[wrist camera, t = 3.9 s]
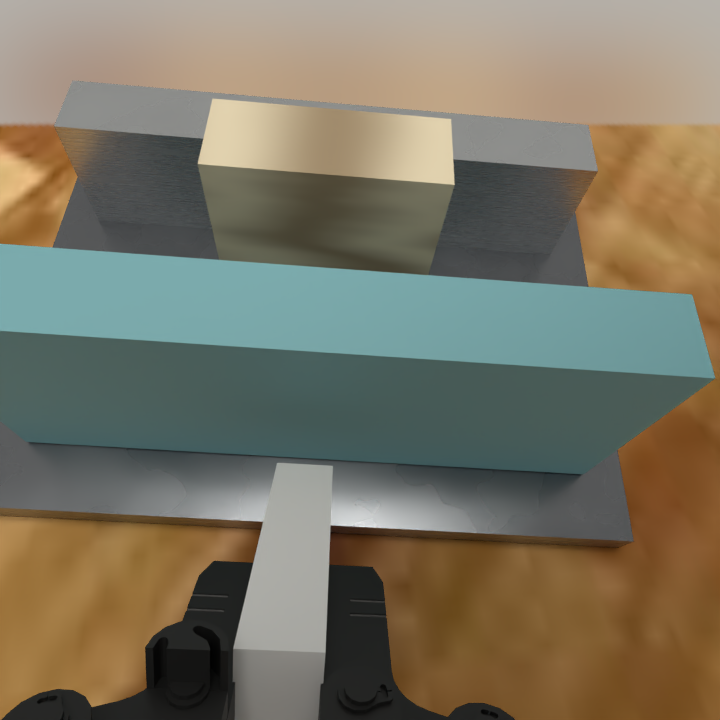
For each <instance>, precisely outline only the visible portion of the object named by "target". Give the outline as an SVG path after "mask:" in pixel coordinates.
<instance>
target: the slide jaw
mask: <svg viewBox="0 0 720 720" xmlns="http://www.w3.org/2000/svg"><path fill="white" fill-rule="evenodd" d="M714 379H715V376H714V372H713V368H712V365H711V361H710V358H709V354H708V350H707V347H706V343H705V340H704V336H703V332H702V329H701V325H700V321H699V318H698V314H697V311H696V307H695V303H694V300H693V296H692V295H691V294H678V293H664V292H650V291H637V290H623V289H609V288H596V287H582V286H568V285H555V284H541V283H527V282H514V281H500V280H487V279H473V278H459V277H446V276H432V275H418V274H405V273H391V272H377V271H364V270H350V269H336V268H323V267H309V266H295V265H282V264H268V263H254V262H241V261H227V260H213V259H200V258H186V257H172V256H159V255H145V254H132V253H118V252H104V251H91V250H77V249H63V248H50V247H36V246H22V245H9V244H0V421H1V422H2V423H3V424H4V425H6V426H7V427H8V428H9V429H11V430H12V431H13V432H14V433H16V434H17V435H18V436H19V437H21V438H22V439H23V440H24V441H26V442H36V443H53V444H70V445H87V446H104V447H122V448H139V449H156V450H173V451H190V452H207V453H225V454H242V455H259V456H276V457H293V458H311V459H328V460H345V461H362V462H379V463H397V464H414V465H431V466H448V467H465V468H482V469H500V470H517V471H534V472H551V473H568V474H585V473H586V472H588V471H589V470H590V469H592V468H593V467H594V466H596V465H597V464H599V463H600V462H601V461H603V460H604V459H605V458H607V457H608V456H610V455H611V454H612V453H614V452H615V451H616V450H618V449H619V448H620V447H622V446H623V445H625V444H626V443H627V442H629V441H630V440H631V439H633V438H634V437H636V436H637V435H638V434H640V433H641V432H642V431H644V430H645V429H647V428H648V427H649V426H651V425H652V424H653V423H655V422H656V421H658V420H659V419H660V418H662V417H663V416H664V415H666V414H667V413H668V412H670V411H671V410H673V409H674V408H675V407H677V406H678V405H679V404H681V403H682V402H684V401H685V400H686V399H688V398H689V397H690V396H692V395H693V394H695V393H696V392H697V391H699V390H700V389H701V388H703V387H704V386H706V385H707V384H708V383H710V382H711V381H712V380H714Z"/></svg>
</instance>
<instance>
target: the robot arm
mask: <svg viewBox="0 0 720 720" xmlns="http://www.w3.org/2000/svg"><path fill="white" fill-rule="evenodd" d="M332 475H333V466H328V465H310V464H292V463H277V466H276V470H275V474H274V478H273V483H272V487H271V491H270V495H269V500H268V504H267V508H266V512H265V516H264V521H263V525H262V529H261V533H260V538H259V542H258V546H257V550H256V554H255V559H254V563H246V562H225V561H214V562H212V563H211V564H210V565H209V566H208V567H207V568H206V569H205V570H204V571H203V572H202V573H201V574H200V575H199V577H198V580H197V583H196V585H195V588H194V591H193V595H192V596H191V599H190V602H189V604H188V607H187V611H186V613H185V615H184V618H183V621H181V622H178V623H175V624H173V625H170V626H167V627H165V628H164V629H162V630H161V631H160V632H158V633H157V634H156V635H154V636H153V637H152V639H151V640H150V642H149V643H148V644H147V646H146V647H145V653H146V680H147V688H146V689H145V690H144V691H142V692H140V693H138V694H136V695H134V696H132V697H129V698H126V699H123V700H120V701H117V702H113V703H108V704H104V705H100V706H96V707H91V705H90V704H89V702H88V700H87V699H86V697H85V696H83V695H81V694H79V693H78V692H76V691H74V690H62V689H56V690H51V691H47V692H42V693H39V694H37V695H35V696H33V697H31V698H29V699H27V700H25V701H23V702H21V703H20V704H19V705H17V706H16V707H15V708H14V709H13V710H11V711H10V712H9V713H8V714H7V715H6V716H5V717H4V718H3V719H2V720H515V719H514V718H513V717H511V716H510V715H509V714H507V713H506V712H504V711H503V710H501V709H500V708H497V707H494V706H491V705H488V704H485V703H468V704H465V705H463V706H460V707H458V708H456V709H455V710H454V711H453V712H452V713H451V714H450V715H449V717H446V716H443V715H440V714H437V713H434V712H431V711H428V710H426V709H423V708H421V707H419V706H417V705H415V704H414V703H413V702H411V701H410V700H408V699H407V698H406V697H405V696H404V695H403V694H402V693H401V692H400V690H399V689H398V687H397V685H396V684H395V682H394V679H393V675H392V670H391V660H390V649H389V639H388V629H387V618H386V608H385V597H384V587H383V582H382V580H381V579H380V577H379V576H378V574H377V573H376V572H375V570H374V569H373V567H362V566H341V565H329V551H330V526H331V501H332Z"/></svg>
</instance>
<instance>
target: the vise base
mask: <svg viewBox="0 0 720 720" xmlns="http://www.w3.org/2000/svg"><path fill="white" fill-rule="evenodd" d="M212 99H224V100H235V101H247V102H259V103H270V104H282V105H294V106H305V107H317V108H329V109H340V110H352V111H364V112H375V113H387V114H399V115H410V116H422V117H434V118H445V119H451V126H452V145H453V164H454V183H455V185H454V189H453V192H452V195H451V199H450V202H449V206H448V209H447V212H446V216H445V219H444V223H443V226H442V230H441V233H440V236H439V240H438V243H437V247H436V250H435V254H434V257H433V260H432V264H431V267H430V271H429V274H428V275H432V276H446V277H459V278H473V279H487V280H500V281H514V282H527V283H541V284H555V285H568V286H582V287H588V282H587V277H586V271H585V265H584V260H583V254H582V249H581V243H580V237H579V232H578V226H577V220H576V215H575V211H576V209H577V207H578V205H579V204H580V202H581V200H582V198H583V197H584V195H585V193H586V191H587V190H588V188H589V186H590V184H591V183H592V181H593V179H594V177H595V176H596V174H597V172H598V169H597V164H596V160H595V155H594V150H593V145H592V141H591V136H590V131H589V126H588V125H582V124H570V123H558V122H547V121H535V120H523V119H512V118H500V117H489V116H477V115H465V114H454V113H443V112H431V111H419V110H407V109H395V108H384V107H372V106H361V105H350V104H338V103H326V102H314V101H303V100H291V99H280V98H267V97H257V96H245V95H234V94H222V93H211V92H198V91H187V90H175V89H164V88H152V87H140V86H128V85H118V84H106V83H94V82H83V81H72V83H71V86H70V88H69V91H68V93H67V95H66V98H65V101H64V103H63V105H62V108H61V110H60V113H59V115H58V118H57V120H56V123H55V125H54V127H55V130H56V132H57V134H58V136H59V138H60V140H61V142H62V144H63V146H64V149H65V151H66V153H67V155H68V157H69V159H70V161H71V163H72V166H73V168H74V170H75V172H76V174H77V176H78V178H77V181H76V183H75V186H74V189H73V192H72V195H71V197H70V200H69V203H68V206H67V209H66V211H65V214H64V217H63V220H62V223H61V225H60V228H59V231H58V234H57V237H56V239H55V242H54V245H53V248H63V249H77V250H91V251H104V252H118V253H132V254H145V255H159V256H172V257H186V258H200V259H213V260H219V257H218V252H217V248H216V244H215V239H214V235H213V230H212V226H211V221H210V217H209V213H208V208H207V204H206V199H205V195H204V190H203V186H202V181H201V177H200V173H199V168H198V160H199V156H200V151H201V147H202V143H203V138H204V134H205V130H206V125H207V121H208V116H209V112H210V108H211V103H212ZM277 463H292V464H310V465H328V466H333V475H332V501H331V526H330V533H346V534H365V535H384V536H403V537H423V538H442V539H461V540H480V541H499V542H518V543H537V544H556V545H575V546H594V547H613V548H619V547H621V546H623V545H626V544H628V543H631V542H633V535H632V530H631V524H630V518H629V513H628V507H627V501H626V496H625V490H624V485H623V479H622V473H621V468H620V462H619V456H618V451H617V450H616V451H615V452H614V453H612V454H611V455H610V456H608V457H607V458H605V459H604V460H603V461H601V462H600V463H599V464H597V465H596V466H594V467H593V468H592V469H590V470H589V471H588V472H586V473H585V474H568V473H551V472H534V471H517V470H500V469H482V468H465V467H448V466H431V465H414V464H397V463H379V462H362V461H345V460H328V459H311V458H293V457H276V456H259V455H242V454H225V453H207V452H190V451H173V450H156V449H139V448H122V447H104V446H87V445H70V444H53V443H36V442H26V441H24V440H23V439H22V438H21V437H19V436H18V435H17V434H16V433H14V432H13V431H12V430H11V429H9V428H8V427H7V426H6V425H4V424H3V423H2V422H1V421H0V515H3V516H22V517H41V518H60V519H79V520H98V521H117V522H136V523H156V524H175V525H194V526H213V527H232V528H251V529H262V525H263V521H264V516H265V512H266V508H267V504H268V500H269V495H270V491H271V487H272V483H273V478H274V474H275V470H276V466H277Z"/></svg>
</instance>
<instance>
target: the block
mask: <svg viewBox="0 0 720 720" xmlns="http://www.w3.org/2000/svg"><path fill="white" fill-rule="evenodd" d="M198 168H199V173H200V177H201V181H202V186H203V190H204V195H205V199H206V204H207V208H208V213H209V217H210V221H211V226H212V230H213V235H214V239H215V244H216V248H217V252H218V257H219V260H227V261H241V262H254V263H268V264H282V265H295V266H309V267H323V268H336V269H350V270H364V271H377V272H391V273H405V274H418V275H428V274H429V271H430V267H431V264H432V260H433V257H434V254H435V250H436V247H437V243H438V240H439V236H440V233H441V230H442V226H443V223H444V219H445V216H446V212H447V209H448V206H449V202H450V199H451V195H452V192H453V189H454V185H455V183H454V164H453V145H452V126H451V119H445V118H434V117H422V116H410V115H399V114H387V113H375V112H364V111H352V110H340V109H329V108H317V107H305V106H294V105H282V104H270V103H259V102H247V101H235V100H224V99H212V103H211V108H210V112H209V116H208V121H207V125H206V130H205V134H204V138H203V143H202V147H201V151H200V156H199V160H198Z"/></svg>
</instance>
